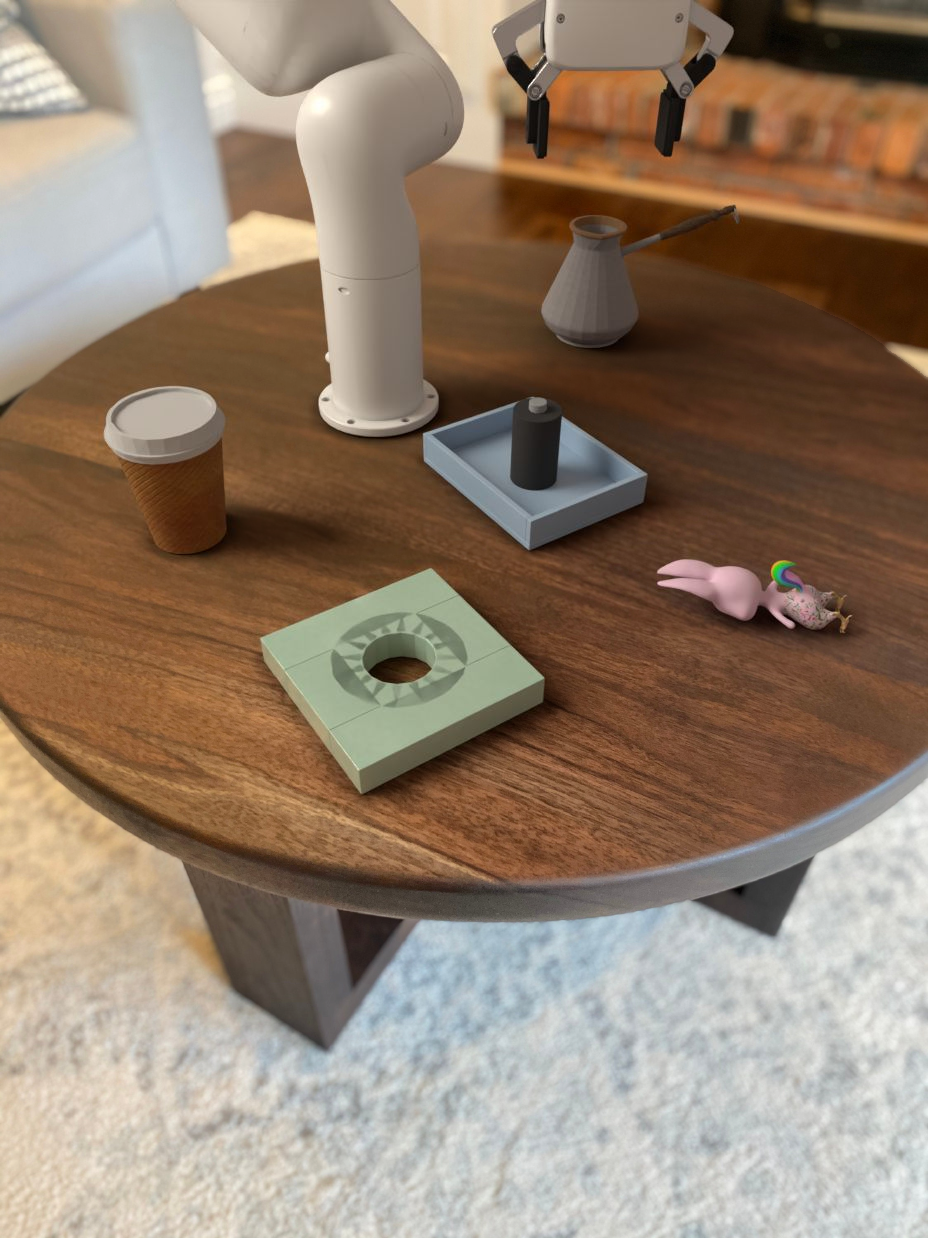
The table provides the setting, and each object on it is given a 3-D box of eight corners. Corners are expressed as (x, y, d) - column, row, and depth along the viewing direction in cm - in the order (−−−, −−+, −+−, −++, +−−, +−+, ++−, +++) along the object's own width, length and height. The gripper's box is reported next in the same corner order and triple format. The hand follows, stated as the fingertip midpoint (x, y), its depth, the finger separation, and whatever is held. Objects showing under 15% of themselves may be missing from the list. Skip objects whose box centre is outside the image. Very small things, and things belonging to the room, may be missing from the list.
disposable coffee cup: (191, 580, 78) (161, 455, 70) (111, 542, 82) (73, 420, 74) (267, 523, 84) (247, 402, 76) (189, 490, 88) (162, 372, 80)
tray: (423, 461, 92) (422, 433, 90) (531, 423, 97) (533, 396, 95) (529, 550, 81) (530, 521, 79) (643, 502, 87) (648, 474, 85)
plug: (500, 473, 89) (503, 397, 84) (537, 460, 91) (542, 384, 86) (528, 495, 86) (533, 418, 81) (566, 481, 88) (573, 404, 83)
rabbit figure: (827, 609, 78) (650, 568, 78) (859, 553, 74) (673, 511, 74) (838, 661, 73) (650, 618, 73) (873, 605, 69) (675, 560, 69)
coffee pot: (543, 355, 109) (552, 222, 99) (536, 313, 117) (544, 187, 107) (726, 355, 109) (754, 223, 99) (706, 313, 118) (730, 187, 108)
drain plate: (264, 661, 71) (259, 637, 69) (431, 591, 77) (431, 567, 76) (361, 795, 62) (358, 770, 60) (543, 702, 68) (545, 678, 66)
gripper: (741, -135, 64) (699, 137, 76) (490, -135, 63) (485, 140, 75) (776, -126, 59) (724, 165, 70) (501, -127, 58) (494, 169, 69)
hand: (601, 152), depth 73 cm, fingers open, 9 cm apart
